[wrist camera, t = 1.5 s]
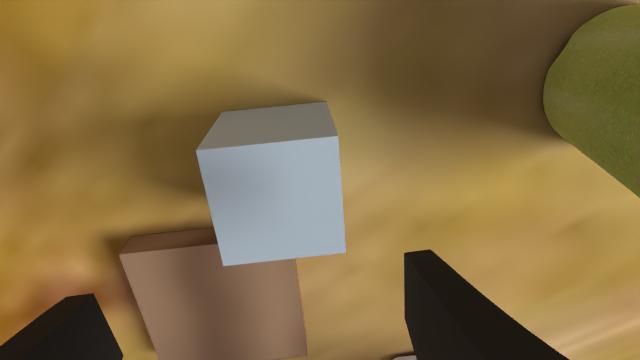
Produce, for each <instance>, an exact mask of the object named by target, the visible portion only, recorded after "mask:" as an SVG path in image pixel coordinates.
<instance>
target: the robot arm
mask: <svg viewBox="0 0 640 360" xmlns="http://www.w3.org/2000/svg"><path fill="white" fill-rule="evenodd" d="M404 287H405V321H406V324H407V328H408V331H409V335H410V338H411V342H412V345H413V349H414V352H415V355H413V356H404V357H397V358H395V359H393V360H569V359H568V358H566V357H565V356H563V355H562V354H560V353H559V352H557V351H556V350H555V349H553V348H552V347H550V346H549V345H548V344H546V343H545V342H544V341H542V340H541V339H539V338H538V337H537V336H535V335H534V334H532V333H531V332H530V331H528V330H527V329H526V328H524V327H523V326H522V325H521V324H519V323H518V322H517V321H515V320H514V319H513V318H511V317H510V316H509V315H508V314H506V313H505V312H504V311H503V310H501V309H500V308H499V307H498V306H496V305H495V304H494V303H493V302H491V301H490V300H489V299H488V298H486V297H485V296H484V295H483V294H482V293H480V292H479V291H478V290H477V289H476V288H474V287H473V286H472V285H471V284H470V283H469V282H467V281H466V280H465V279H464V278H463V277H462V276H460V275H459V274H458V273H457V272H456V271H455V270H454V269H452V268H451V267H450V266H449V265H448V264H447V263H446V262H444V261H443V260H442V259H441V258H440V257H439V256H437V255H436V254H435V253H434V252H433V251H431V250H422V251H415V252H407V253H404ZM122 358H123V354H122V352H121V349H120V347H119V345H118V343H117V341H116V339H115V337H114V335H113V333H112V331H111V329H110V327H109V325H108V323H107V321H106V319H105V316H104V314H103V312H102V310H101V308H100V306H99V304H98V302H97V300H96V298H95V296H94V294H85V295H77V296H69V297H66V298H64V299H63V300H61V301H60V302H58V303H57V304H55V305H54V306H53V307H51V308H50V309H48V310H47V311H46V312H44V313H43V314H42V315H40V316H39V317H38V318H36V319H35V320H34V321H32V322H31V323H30V324H28V325H27V326H26V327H25V328H23V329H22V330H21V331H19V332H18V333H17V334H15V335H14V336H13V337H12V338H10V339H9V340H8V341H6V342H5V343H4V344H3V345H1V346H0V360H122Z"/></svg>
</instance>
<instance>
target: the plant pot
mask: <svg viewBox="0 0 640 360" xmlns="http://www.w3.org/2000/svg"><path fill="white" fill-rule="evenodd" d="M543 105H544V110H545V114H546V117H547V119H548V121H549V123H550V125H551V126H552V128H553V129H554V130H555V131H556V132H557V133H558V134H559V135H560V136H561V137H562V138H564V139H565V140H566V141H568V142H569V143H570V144H572V145H573V146H574V147H576V148H577V149H578V150H579V151H581V152H582V153H583V154H585V155H586V156H587V157H589V158H590V159H591V160H593V161H594V162H595V163H597V164H598V165H599V166H600V167H602V168H603V169H604V170H605V171H607V172H608V173H609V174H610V175H612V176H613V177H614V178H615V179H617V180H618V181H619V182H620V183H622V184H623V185H624V186H625V187H627V188H628V189H629V190H631V191H632V192H633V193H634V194H636V195H637V196H638V197H639V198H640V3H638V4H632V5H625V6H620V7H616V8H613V9H610V10H608V11H606V12H603V13H601V14H599V15H597V16H596V17H594V18H592V19H590V20H589V21H587V22H586V23H585V24H583V25H582V26H581V27H579V28H578V29H577V30H576V31H575V32H574V33H573V34H572V36H571V38H570V40H569V41H568V43H567V45H566V46H565V48H564V49H563V51H562V52H561V53H560V55H559V56H558V57H557V59H556V60H555V61H554V63H553V64H552V65H551V66H550V68H549V70H548V73H547V76H546V79H545V84H544V89H543Z"/></svg>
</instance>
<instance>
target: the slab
mask: <svg viewBox="0 0 640 360" xmlns="http://www.w3.org/2000/svg"><path fill="white" fill-rule="evenodd" d="M119 257H120V260H121V262H122V265H123V267H124V270H125V273H126V275H127V278H128V280H129V283H130V286H131V288H132V291H133V293H134V296H135V298H136V301H137V304H138V306H139V309H140V311H141V314H142V317H143V319H144V322H145V324H146V327H147V330H148V332H149V335H150V337H151V340H152V342H153V345H154V348H155V350H156V353H157V355H158V358H159V360H274V359H283V358H292V357H300V356H307V340H306V329H305V322H304V315H303V307H302V300H301V293H300V286H299V279H298V272H297V265H296V258H294V259H284V260H275V261H266V262H257V263H248V264H239V265H229V266H223V262H222V258H221V254H220V250H219V246H218V241H217V237H216V233H215V229H214V228H205V229H196V230H186V231H177V232H168V233H159V234H150V235H140V236H131V238H130V239H129V241H128V242H127V243H126V245H125V246H124V248H123V249H122V251H121V252H120V253H119Z"/></svg>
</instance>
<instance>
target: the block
mask: <svg viewBox="0 0 640 360" xmlns="http://www.w3.org/2000/svg"><path fill="white" fill-rule="evenodd" d="M196 154H197V158H198V162H199V167H200V171H201V175H202V179H203V183H204V187H205V191H206V196H207V200H208V204H209V208H210V212H211V216H212V221H213V225H214V229H215V233H216V237H217V241H218V246H219V250H220V254H221V258H222V262H223V266H229V265H239V264H248V263H257V262H266V261H275V260H284V259H294V258H303V257H312V256H321V255H330V254H339V253H346V244H345V230H344V215H343V200H342V186H341V171H340V156H339V142H338V134H337V131H336V128H335V126H334V123H333V120H332V117H331V114H330V111H329V108H328V105H327V102H326V101H325V102H315V103H305V104H295V105H285V106H275V107H265V108H255V109H245V110H235V111H225V112H222V113H221V114H220V116H219V117H218V119H217V120H216V122H215V123H214V125H213V126H212V127H211V129H210V130H209V132H208V133H207V135H206V136H205V138H204V139H203V141H202V142H201V143H200V145H199V146H198V148H197V149H196Z"/></svg>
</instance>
